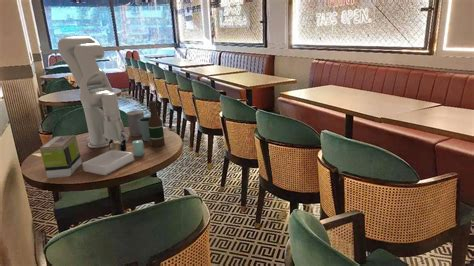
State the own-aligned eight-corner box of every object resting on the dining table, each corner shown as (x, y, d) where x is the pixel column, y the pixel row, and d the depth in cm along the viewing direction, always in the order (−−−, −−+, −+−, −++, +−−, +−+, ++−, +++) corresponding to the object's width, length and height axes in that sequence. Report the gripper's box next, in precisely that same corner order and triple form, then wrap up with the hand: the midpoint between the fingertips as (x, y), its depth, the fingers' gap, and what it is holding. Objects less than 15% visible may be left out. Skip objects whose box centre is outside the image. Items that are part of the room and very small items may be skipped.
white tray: (83, 171, 149) (82, 163, 148) (112, 157, 164) (111, 149, 163) (106, 175, 144) (104, 166, 142) (133, 160, 159) (132, 152, 158)
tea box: (61, 165, 158) (54, 135, 154) (82, 163, 159) (76, 134, 154) (46, 178, 144) (38, 146, 139) (70, 176, 144) (63, 145, 140)
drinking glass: (162, 137, 191) (160, 117, 187) (149, 143, 183) (147, 122, 179) (150, 135, 196) (147, 115, 193) (137, 140, 188) (134, 120, 185)
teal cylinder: (132, 155, 165) (130, 142, 163) (138, 152, 169) (136, 139, 167) (140, 157, 163) (138, 143, 161) (146, 153, 167) (144, 140, 165)
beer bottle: (161, 147, 175) (156, 103, 167) (148, 147, 176) (142, 103, 169) (167, 142, 182) (162, 99, 175) (154, 142, 183) (148, 100, 176)
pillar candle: (133, 131, 205) (129, 108, 201) (148, 131, 205) (145, 107, 200) (127, 136, 196) (123, 112, 191) (143, 136, 196) (140, 111, 191)
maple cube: (111, 153, 171) (109, 143, 169) (118, 149, 175) (116, 140, 174) (118, 154, 169) (116, 144, 167) (125, 150, 173) (124, 141, 172)
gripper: (94, 118, 167) (100, 151, 172) (120, 120, 159) (125, 154, 165) (105, 114, 173) (111, 146, 178) (131, 116, 166) (136, 149, 171)
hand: (118, 150), depth 172 cm, fingers open, 7 cm apart
